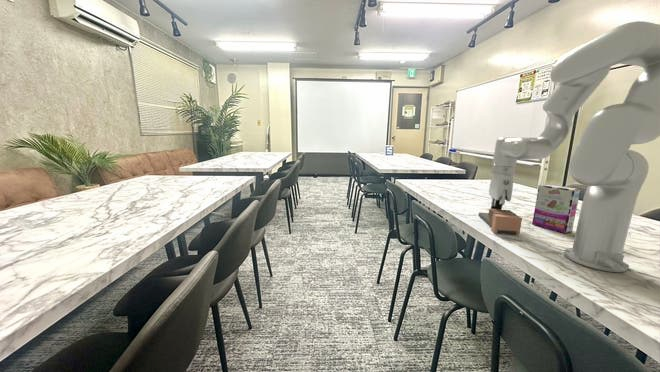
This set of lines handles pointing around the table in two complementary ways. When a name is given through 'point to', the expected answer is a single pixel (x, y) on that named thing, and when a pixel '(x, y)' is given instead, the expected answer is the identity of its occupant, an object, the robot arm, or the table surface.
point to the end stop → (506, 224)
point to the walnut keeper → (498, 211)
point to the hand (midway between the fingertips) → (494, 215)
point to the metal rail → (485, 218)
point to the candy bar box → (556, 207)
